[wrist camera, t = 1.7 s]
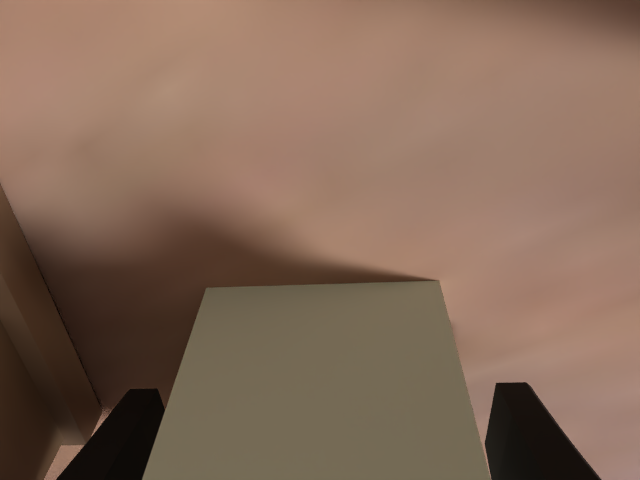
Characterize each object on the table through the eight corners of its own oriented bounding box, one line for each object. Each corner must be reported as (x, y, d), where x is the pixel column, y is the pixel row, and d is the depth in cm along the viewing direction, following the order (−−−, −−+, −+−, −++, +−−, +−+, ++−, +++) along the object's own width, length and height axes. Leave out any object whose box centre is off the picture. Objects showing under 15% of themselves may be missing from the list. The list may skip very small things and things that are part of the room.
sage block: (426, 426, 14) (464, 656, 10) (240, 429, 14) (200, 654, 10) (438, 278, 11) (499, 511, 7) (206, 285, 11) (131, 513, 7)
